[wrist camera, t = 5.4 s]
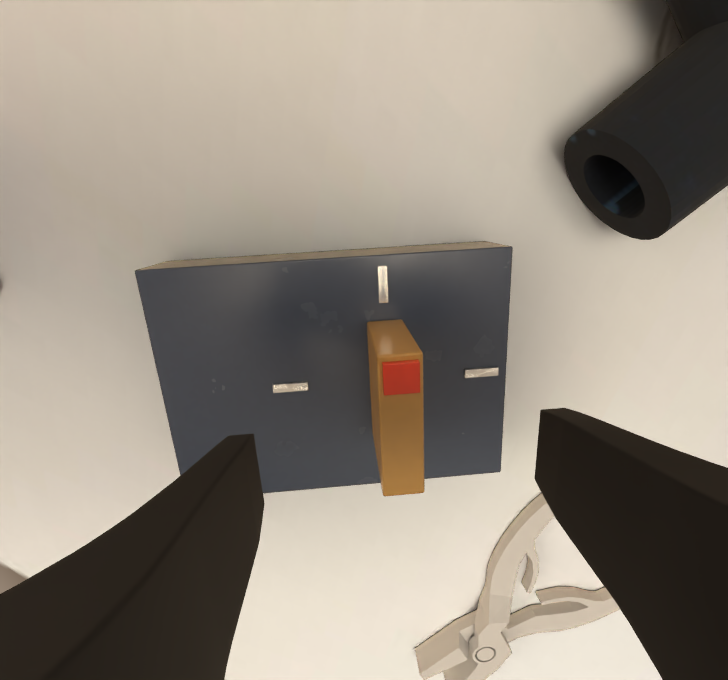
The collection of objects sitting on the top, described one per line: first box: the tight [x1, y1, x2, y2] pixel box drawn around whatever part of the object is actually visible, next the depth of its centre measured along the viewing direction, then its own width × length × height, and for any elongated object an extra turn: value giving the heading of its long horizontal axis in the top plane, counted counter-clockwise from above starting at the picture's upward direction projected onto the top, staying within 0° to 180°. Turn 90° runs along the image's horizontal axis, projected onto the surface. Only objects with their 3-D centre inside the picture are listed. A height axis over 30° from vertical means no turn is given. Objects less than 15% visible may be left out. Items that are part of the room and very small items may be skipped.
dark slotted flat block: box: [135, 241, 512, 493], centre depth 18 cm, size 14×10×3 cm
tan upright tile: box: [367, 319, 424, 496], centre depth 15 cm, size 5×1×4 cm, turn 3°
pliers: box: [415, 493, 620, 680], centre depth 24 cm, size 10×2×15 cm
